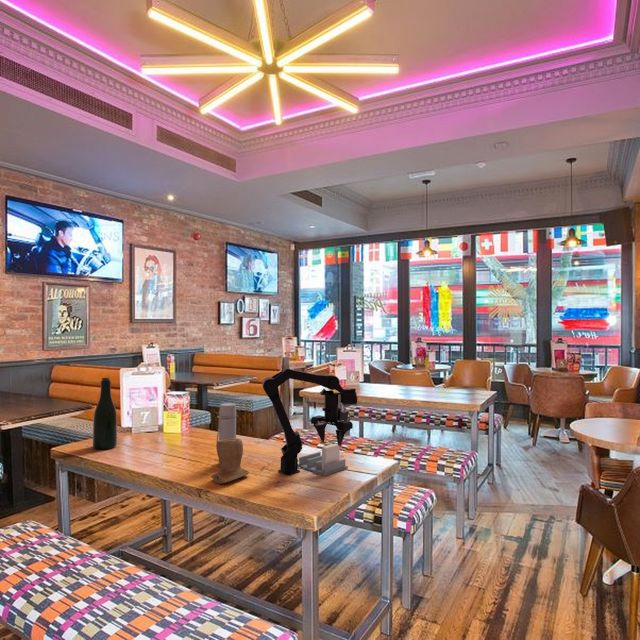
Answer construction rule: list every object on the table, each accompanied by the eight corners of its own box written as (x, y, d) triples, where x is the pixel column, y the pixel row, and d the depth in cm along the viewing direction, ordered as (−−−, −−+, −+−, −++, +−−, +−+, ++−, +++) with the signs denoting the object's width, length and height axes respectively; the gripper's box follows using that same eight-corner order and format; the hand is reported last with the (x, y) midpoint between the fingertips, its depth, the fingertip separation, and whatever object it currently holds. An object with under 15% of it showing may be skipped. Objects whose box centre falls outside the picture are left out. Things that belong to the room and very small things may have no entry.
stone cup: (231, 470, 188) (232, 433, 189) (253, 476, 182) (254, 437, 182) (202, 480, 176) (203, 440, 176) (224, 487, 169) (225, 445, 169)
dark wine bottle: (119, 447, 220) (120, 377, 220) (95, 451, 213) (97, 379, 214) (113, 443, 228) (114, 375, 228) (89, 446, 221) (90, 377, 222)
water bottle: (239, 462, 199) (240, 403, 200) (228, 467, 192) (229, 406, 193) (222, 459, 203) (222, 402, 204) (210, 464, 196) (211, 404, 196)
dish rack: (324, 475, 183) (324, 465, 183) (296, 466, 195) (296, 457, 195) (347, 468, 193) (347, 458, 193) (320, 459, 204) (320, 451, 205)
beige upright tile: (326, 470, 187) (326, 448, 187) (321, 469, 189) (322, 447, 189) (339, 466, 193) (339, 444, 193) (335, 465, 194) (335, 443, 194)
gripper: (361, 406, 190) (361, 444, 190) (328, 400, 203) (328, 436, 203) (343, 409, 182) (343, 449, 182) (310, 403, 195) (309, 441, 195)
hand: (331, 443), depth 191 cm, fingers open, 9 cm apart
